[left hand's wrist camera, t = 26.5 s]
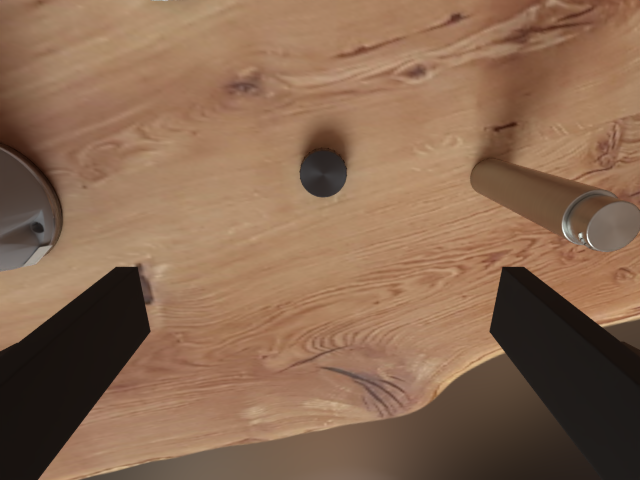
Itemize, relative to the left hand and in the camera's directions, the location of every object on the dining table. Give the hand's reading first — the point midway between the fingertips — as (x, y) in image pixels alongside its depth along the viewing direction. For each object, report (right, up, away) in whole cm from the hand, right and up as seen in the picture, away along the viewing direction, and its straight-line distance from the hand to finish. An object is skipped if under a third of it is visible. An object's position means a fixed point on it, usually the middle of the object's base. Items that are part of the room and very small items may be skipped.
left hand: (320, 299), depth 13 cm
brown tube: (+19, +9, +27) cm, 35 cm away
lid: (0, +9, +25) cm, 27 cm away
